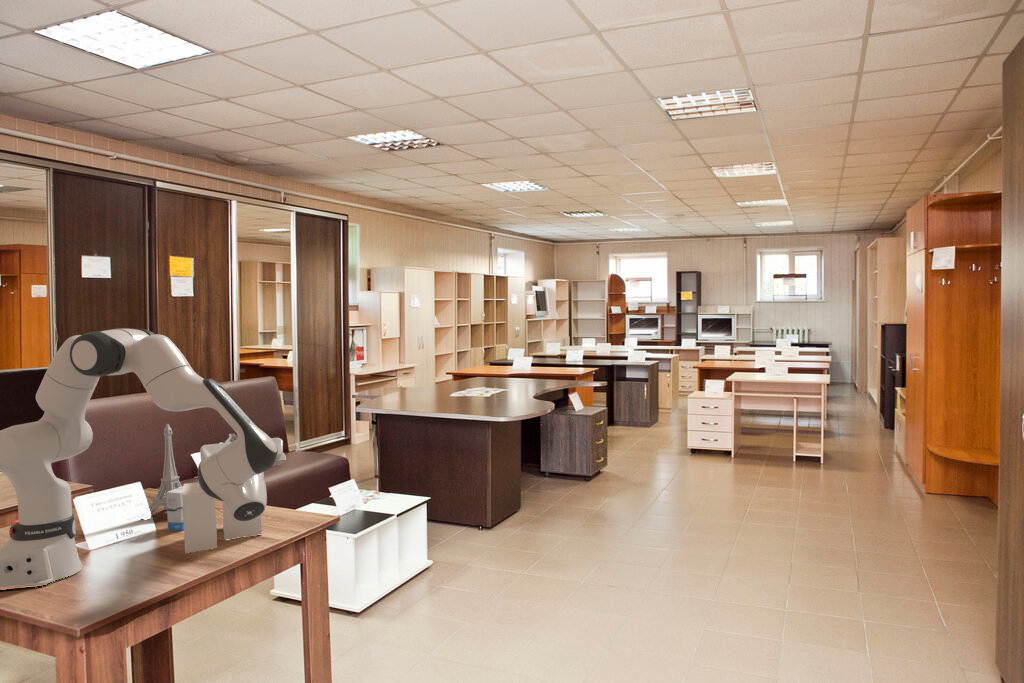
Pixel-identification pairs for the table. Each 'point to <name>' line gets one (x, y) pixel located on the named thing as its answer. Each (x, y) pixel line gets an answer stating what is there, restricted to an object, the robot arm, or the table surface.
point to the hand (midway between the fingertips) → (240, 434)
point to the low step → (198, 519)
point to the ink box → (175, 509)
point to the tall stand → (239, 525)
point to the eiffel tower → (166, 474)
